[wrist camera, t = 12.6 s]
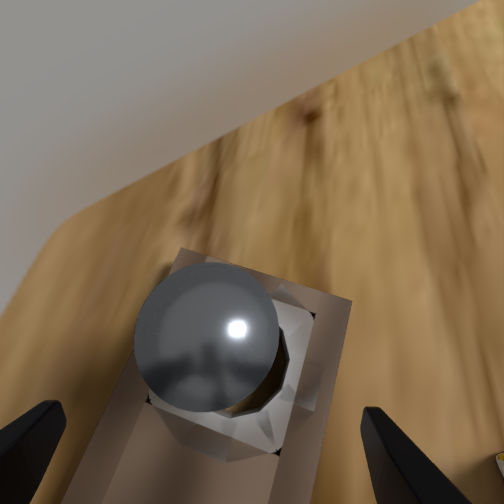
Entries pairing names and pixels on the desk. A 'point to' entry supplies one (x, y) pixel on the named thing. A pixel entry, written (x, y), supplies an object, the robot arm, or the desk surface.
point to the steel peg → (206, 337)
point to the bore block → (223, 422)
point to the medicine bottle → (500, 462)
